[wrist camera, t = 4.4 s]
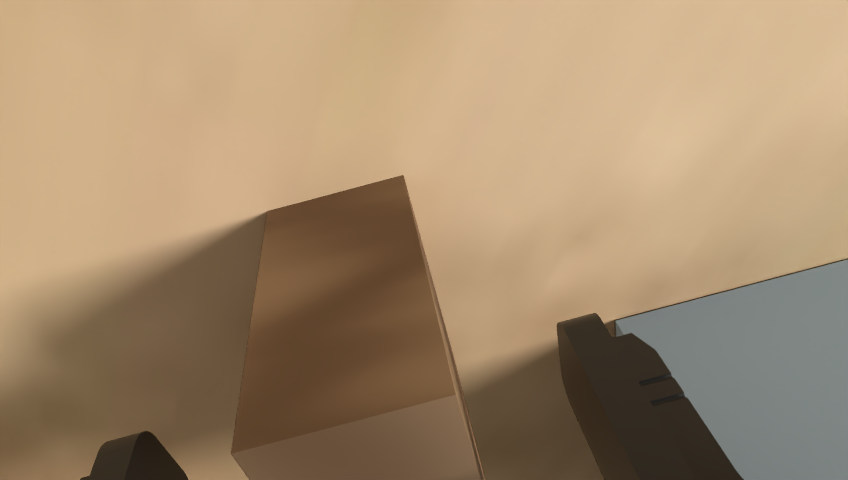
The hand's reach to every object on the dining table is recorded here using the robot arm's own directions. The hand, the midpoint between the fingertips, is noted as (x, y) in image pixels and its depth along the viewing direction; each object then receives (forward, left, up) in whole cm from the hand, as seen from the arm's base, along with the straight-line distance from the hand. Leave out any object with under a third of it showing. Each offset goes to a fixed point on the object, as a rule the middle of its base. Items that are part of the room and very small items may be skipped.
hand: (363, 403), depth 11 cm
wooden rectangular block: (0, 0, -3) cm, 3 cm away
